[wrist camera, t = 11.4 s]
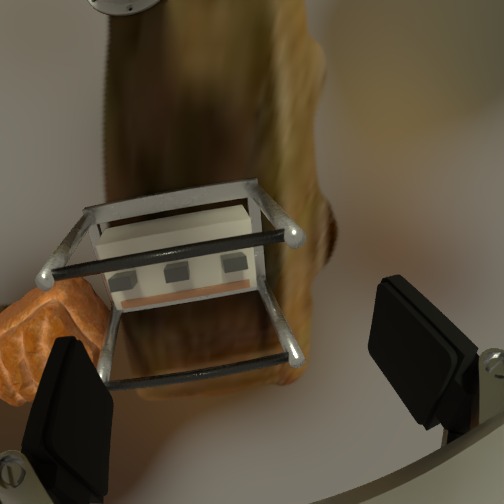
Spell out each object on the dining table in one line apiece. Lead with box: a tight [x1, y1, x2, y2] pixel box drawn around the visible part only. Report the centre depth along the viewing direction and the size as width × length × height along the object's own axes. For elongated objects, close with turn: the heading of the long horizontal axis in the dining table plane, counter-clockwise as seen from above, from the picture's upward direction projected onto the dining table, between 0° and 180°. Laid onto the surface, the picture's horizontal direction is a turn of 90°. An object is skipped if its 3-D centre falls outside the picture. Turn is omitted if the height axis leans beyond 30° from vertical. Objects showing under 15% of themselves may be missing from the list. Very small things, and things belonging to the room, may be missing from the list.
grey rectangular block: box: [108, 270, 138, 293], centre depth 38 cm, size 2×3×4 cm, turn 95°
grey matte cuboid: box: [220, 252, 248, 273], centre depth 40 cm, size 2×3×4 cm, turn 96°
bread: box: [0, 277, 110, 406], centre depth 40 cm, size 14×26×16 cm, turn 114°
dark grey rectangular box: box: [163, 261, 190, 283], centre depth 39 cm, size 2×3×4 cm, turn 96°
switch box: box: [96, 205, 257, 310], centre depth 43 cm, size 10×20×6 cm, turn 95°
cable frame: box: [35, 177, 306, 391], centre depth 38 cm, size 17×25×19 cm
